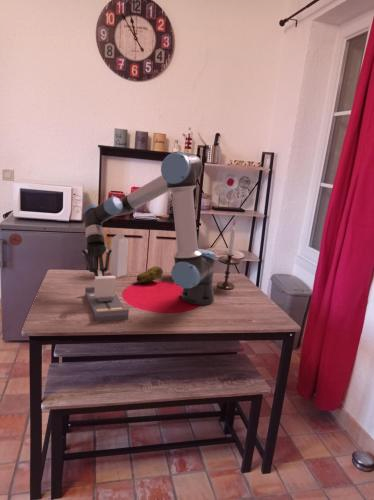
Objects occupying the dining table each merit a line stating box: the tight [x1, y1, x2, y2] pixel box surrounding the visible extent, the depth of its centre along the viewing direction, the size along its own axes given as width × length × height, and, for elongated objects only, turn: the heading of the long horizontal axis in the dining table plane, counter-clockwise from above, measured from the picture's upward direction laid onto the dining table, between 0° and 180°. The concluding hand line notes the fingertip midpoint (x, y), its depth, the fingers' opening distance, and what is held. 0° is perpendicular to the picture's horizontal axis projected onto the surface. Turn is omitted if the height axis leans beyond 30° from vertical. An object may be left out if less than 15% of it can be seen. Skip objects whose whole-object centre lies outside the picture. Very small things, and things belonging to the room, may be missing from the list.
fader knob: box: [94, 275, 117, 302], centre depth 151 cm, size 5×8×10 cm, turn 114°
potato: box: [136, 265, 164, 284], centre depth 183 cm, size 8×13×8 cm, turn 99°
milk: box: [109, 231, 129, 278], centre depth 187 cm, size 6×6×22 cm
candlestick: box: [216, 219, 241, 291], centre depth 185 cm, size 11×11×35 cm
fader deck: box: [84, 285, 130, 323], centre depth 151 cm, size 26×12×4 cm, turn 24°
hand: (100, 286), depth 153 cm, fingers closed
